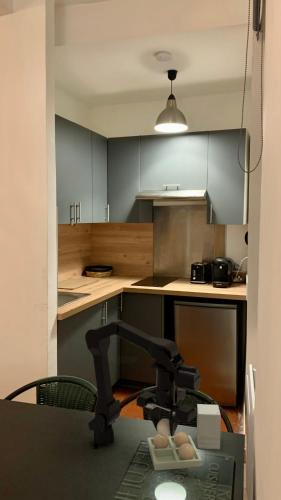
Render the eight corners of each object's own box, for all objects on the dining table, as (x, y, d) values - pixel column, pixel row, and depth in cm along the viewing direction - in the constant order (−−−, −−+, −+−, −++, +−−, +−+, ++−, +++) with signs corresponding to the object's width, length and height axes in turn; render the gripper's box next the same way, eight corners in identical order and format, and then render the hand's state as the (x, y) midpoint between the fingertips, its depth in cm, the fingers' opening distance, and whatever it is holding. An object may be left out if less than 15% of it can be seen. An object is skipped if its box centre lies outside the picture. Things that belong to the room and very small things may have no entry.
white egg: (158, 440, 120) (158, 424, 119) (155, 431, 125) (155, 416, 124) (174, 439, 120) (174, 423, 120) (171, 430, 125) (171, 415, 125)
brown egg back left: (154, 454, 127) (154, 439, 127) (152, 445, 132) (152, 430, 132) (170, 453, 128) (170, 437, 127) (166, 444, 133) (167, 429, 132)
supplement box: (218, 440, 137) (218, 404, 136) (220, 452, 130) (221, 414, 129) (196, 438, 138) (197, 403, 137) (197, 451, 131) (197, 413, 130)
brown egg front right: (180, 465, 121) (180, 449, 121) (176, 456, 126) (177, 440, 126) (196, 464, 122) (196, 448, 121) (192, 454, 127) (192, 439, 126)
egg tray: (154, 473, 119) (154, 463, 119) (147, 446, 133) (147, 437, 133) (201, 469, 121) (202, 460, 120) (189, 443, 135) (189, 435, 135)
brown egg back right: (175, 452, 128) (175, 437, 127) (172, 444, 133) (172, 429, 132) (190, 451, 128) (191, 436, 128) (187, 443, 133) (187, 428, 133)
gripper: (206, 383, 122) (204, 432, 123) (156, 368, 133) (155, 414, 134) (187, 395, 113) (186, 448, 114) (135, 379, 125) (134, 427, 126)
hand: (165, 433), depth 122 cm, fingers closed on white egg, 5 cm apart
